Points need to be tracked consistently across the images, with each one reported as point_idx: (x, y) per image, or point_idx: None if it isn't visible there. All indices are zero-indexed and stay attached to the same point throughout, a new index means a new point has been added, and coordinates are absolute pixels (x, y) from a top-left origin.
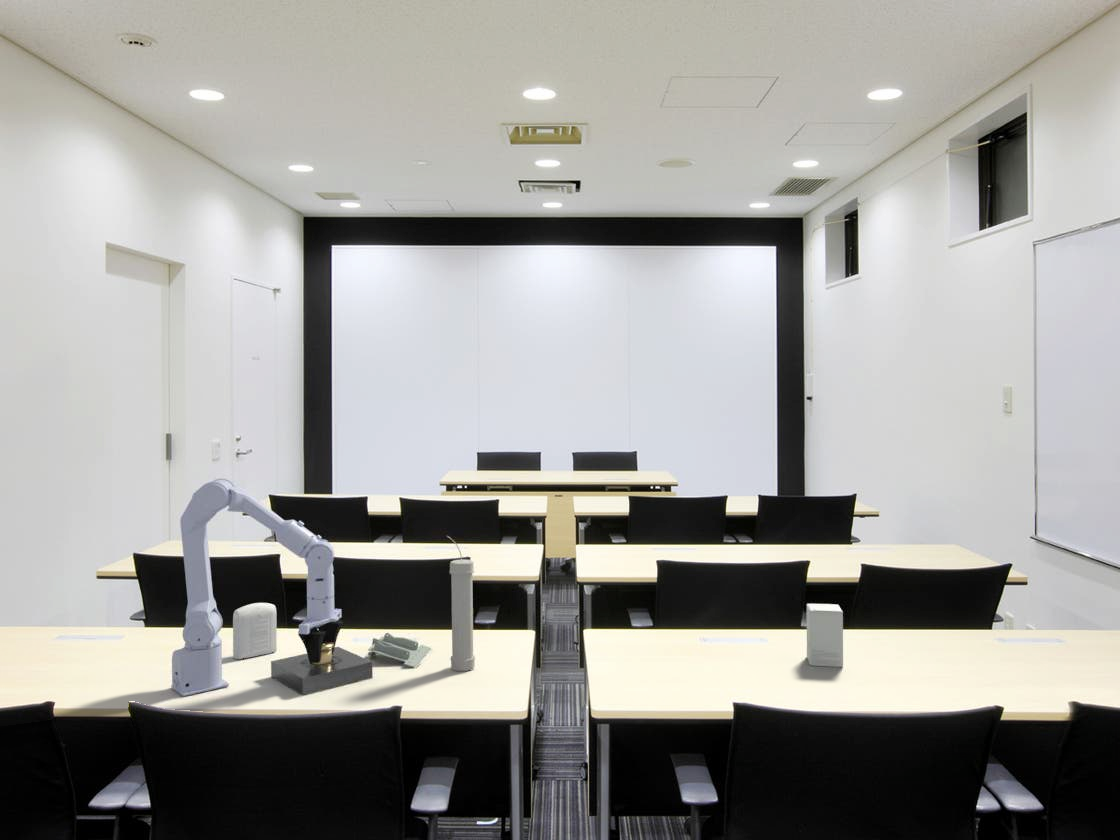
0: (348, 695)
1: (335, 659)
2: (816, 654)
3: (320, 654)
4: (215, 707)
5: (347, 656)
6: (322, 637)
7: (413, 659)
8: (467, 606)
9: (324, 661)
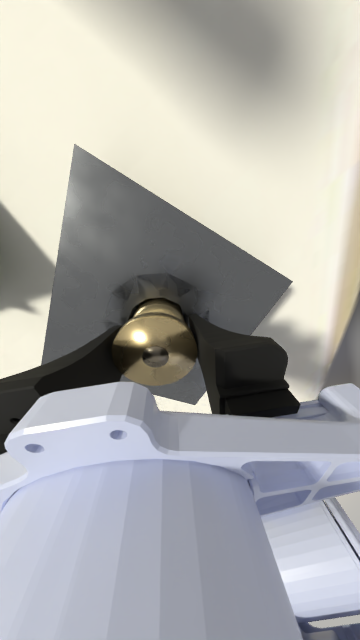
0: (254, 148)
1: (127, 305)
2: None
3: (194, 319)
4: (321, 360)
5: (86, 290)
6: (223, 340)
7: None
8: None
9: (174, 308)
